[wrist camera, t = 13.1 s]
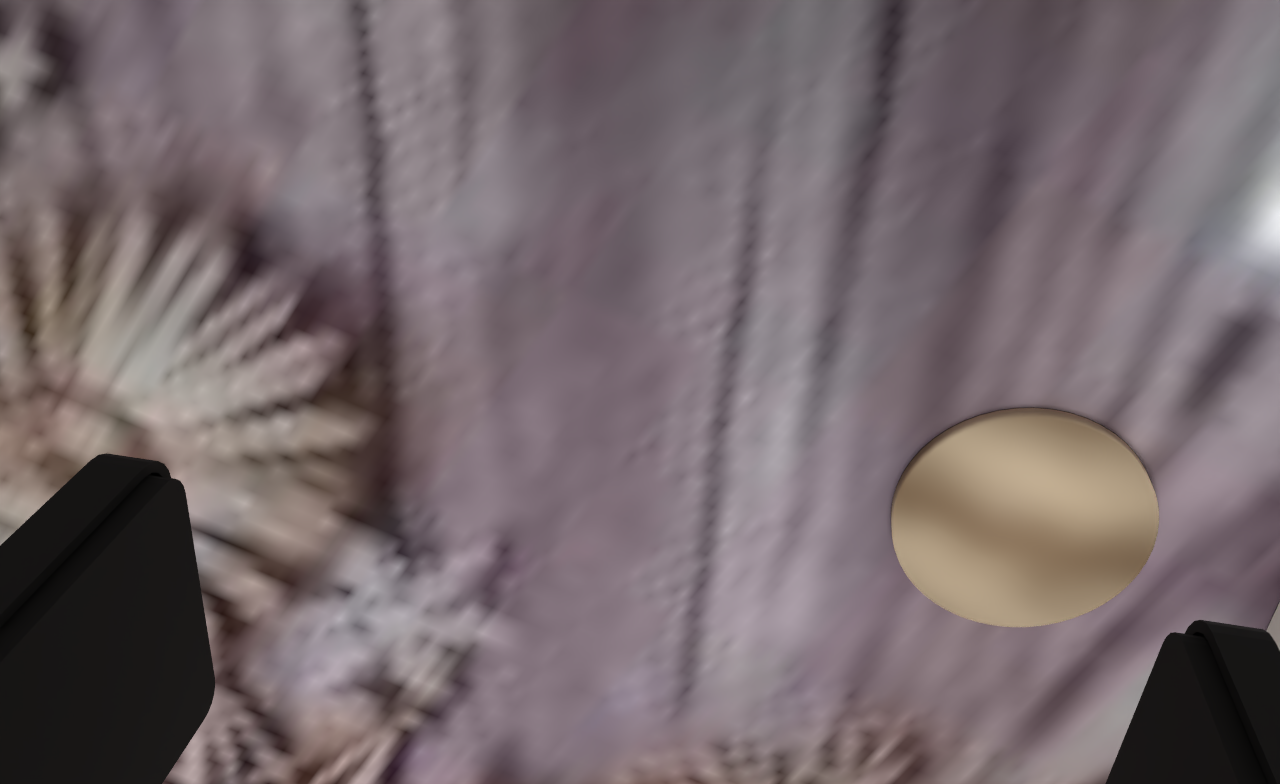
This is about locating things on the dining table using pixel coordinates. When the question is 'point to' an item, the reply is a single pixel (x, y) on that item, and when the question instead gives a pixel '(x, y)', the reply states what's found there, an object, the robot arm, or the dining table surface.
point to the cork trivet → (1024, 517)
